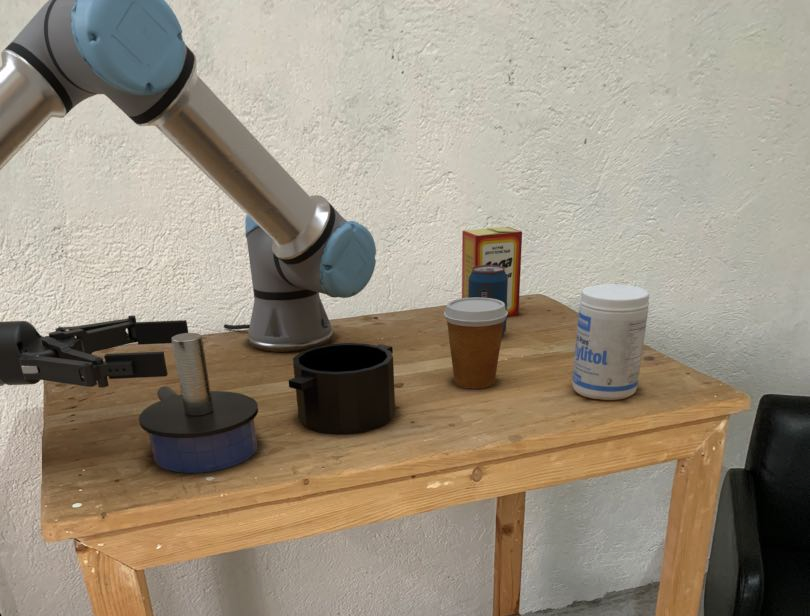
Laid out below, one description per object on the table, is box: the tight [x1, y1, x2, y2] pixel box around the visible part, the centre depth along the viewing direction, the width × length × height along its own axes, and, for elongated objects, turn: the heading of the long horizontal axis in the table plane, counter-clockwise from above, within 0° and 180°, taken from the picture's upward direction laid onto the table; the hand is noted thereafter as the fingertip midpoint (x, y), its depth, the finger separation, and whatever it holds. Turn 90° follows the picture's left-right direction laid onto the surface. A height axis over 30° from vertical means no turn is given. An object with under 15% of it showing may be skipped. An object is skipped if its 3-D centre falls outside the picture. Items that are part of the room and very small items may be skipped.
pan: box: [147, 418, 258, 474], centre depth 103 cm, size 13×13×5 cm
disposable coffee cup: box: [443, 297, 508, 390], centre depth 121 cm, size 10×10×12 cm
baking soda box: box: [461, 226, 523, 317], centre depth 155 cm, size 10×6×16 cm
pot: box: [287, 342, 396, 435], centre depth 111 cm, size 14×19×8 cm
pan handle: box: [157, 385, 179, 401], centre depth 110 cm, size 10×2×2 cm, turn 32°
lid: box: [138, 332, 259, 438], centre depth 99 cm, size 15×15×11 cm
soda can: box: [468, 265, 508, 336], centre depth 143 cm, size 7×7×12 cm
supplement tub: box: [571, 283, 650, 401], centre depth 115 cm, size 10×10×15 cm
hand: (177, 346), depth 97 cm, fingers open, 13 cm apart
